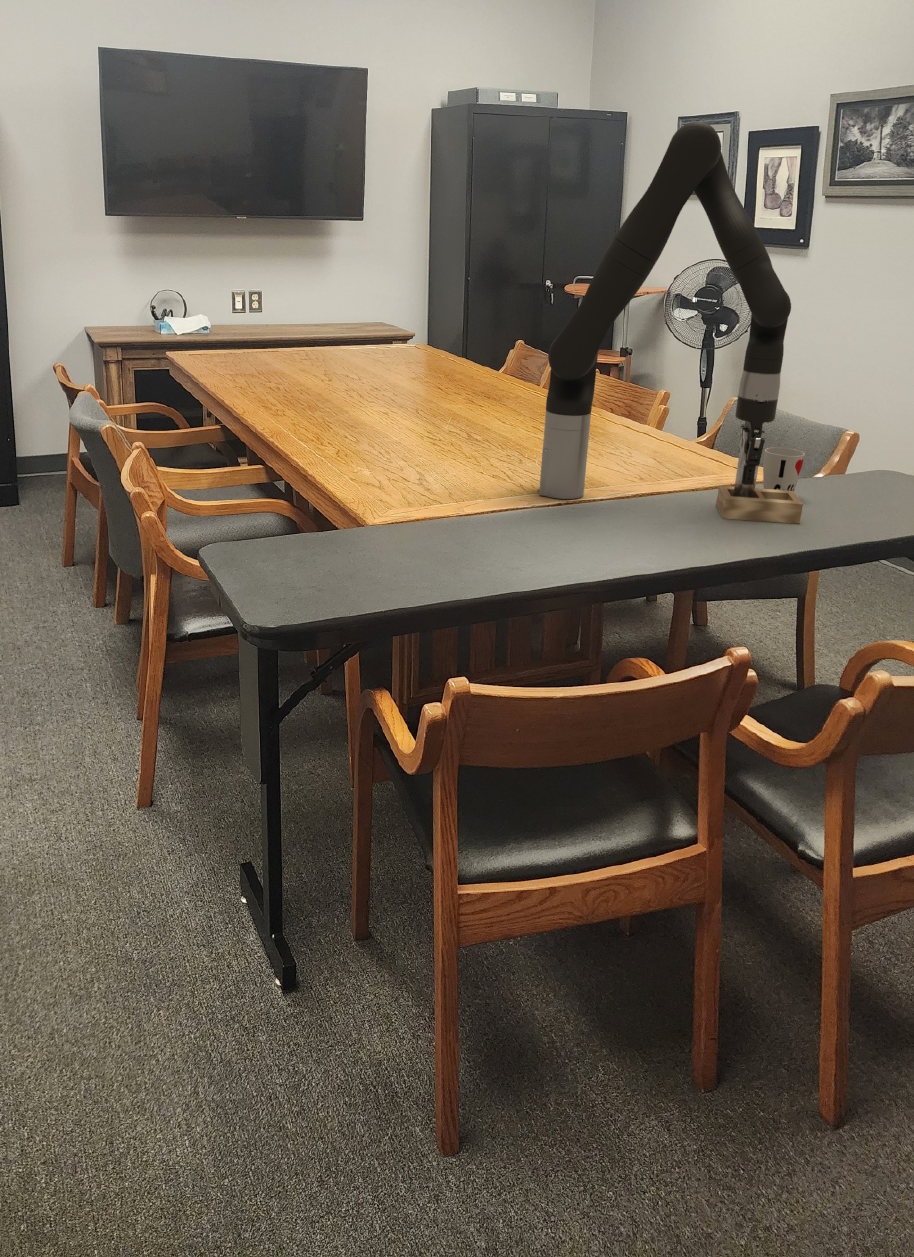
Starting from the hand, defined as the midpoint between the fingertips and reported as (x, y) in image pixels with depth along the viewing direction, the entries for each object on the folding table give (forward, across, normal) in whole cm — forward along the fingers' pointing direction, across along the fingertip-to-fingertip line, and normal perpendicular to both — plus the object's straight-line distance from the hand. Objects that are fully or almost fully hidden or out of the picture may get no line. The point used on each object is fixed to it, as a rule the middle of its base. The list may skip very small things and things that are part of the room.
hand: (745, 481), depth 211 cm
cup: (+7, -14, +10) cm, 18 cm away
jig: (+7, 0, +3) cm, 7 cm away
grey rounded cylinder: (+3, 0, 0) cm, 3 cm away
